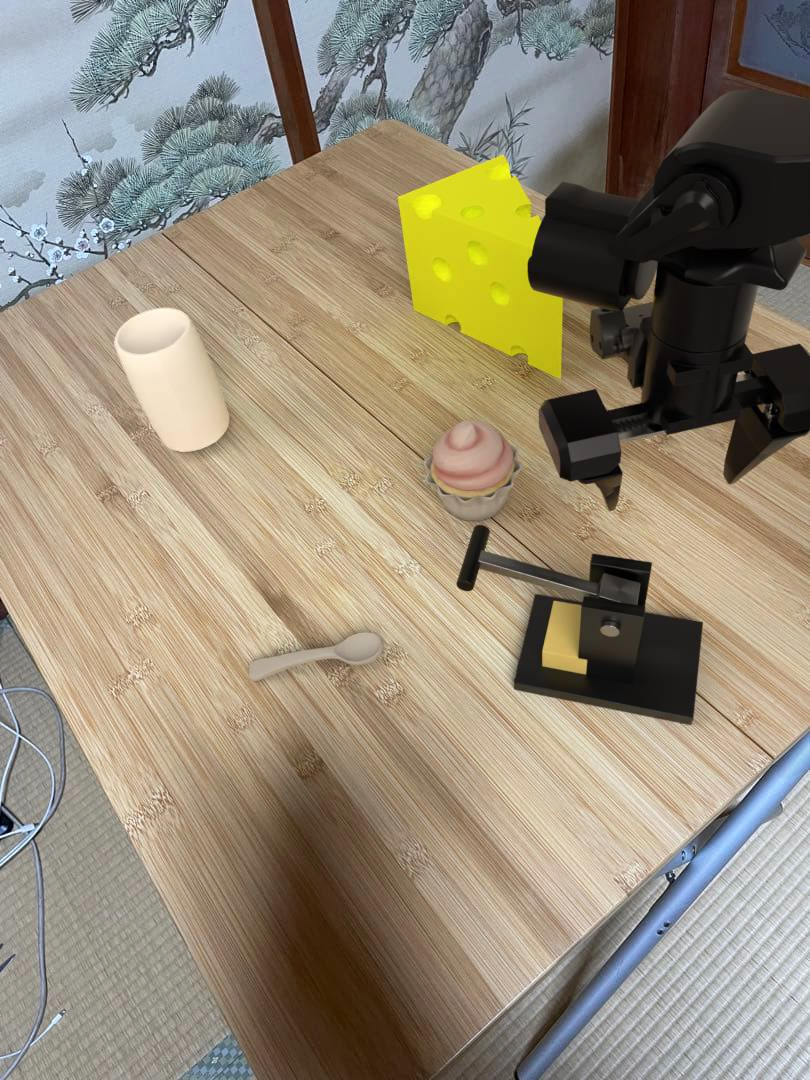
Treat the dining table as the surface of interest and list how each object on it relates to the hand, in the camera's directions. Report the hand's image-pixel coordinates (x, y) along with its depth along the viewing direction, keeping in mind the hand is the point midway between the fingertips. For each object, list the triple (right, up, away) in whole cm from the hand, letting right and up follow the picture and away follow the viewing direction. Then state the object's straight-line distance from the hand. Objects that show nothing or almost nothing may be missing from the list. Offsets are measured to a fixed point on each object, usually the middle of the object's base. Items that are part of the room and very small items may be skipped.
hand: (668, 493), depth 63 cm
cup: (-43, +8, +30) cm, 53 cm away
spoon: (-27, -14, +10) cm, 33 cm away
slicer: (-3, -13, +6) cm, 15 cm away
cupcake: (-13, 0, +19) cm, 23 cm away
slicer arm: (-9, -7, +1) cm, 12 cm away
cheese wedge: (-10, +23, +37) cm, 44 cm away
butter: (-6, -12, +6) cm, 15 cm away
